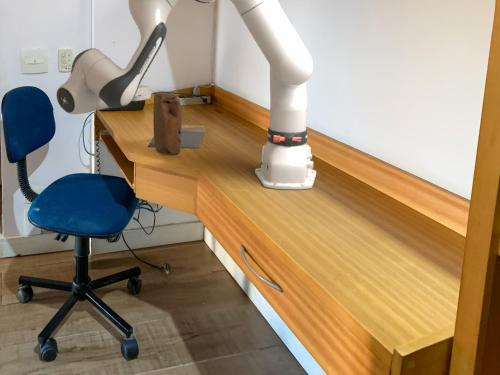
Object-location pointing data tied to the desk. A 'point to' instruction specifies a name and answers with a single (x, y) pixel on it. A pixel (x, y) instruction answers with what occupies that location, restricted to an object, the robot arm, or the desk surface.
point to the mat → (187, 139)
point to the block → (167, 123)
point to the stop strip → (193, 128)
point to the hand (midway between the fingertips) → (135, 86)
